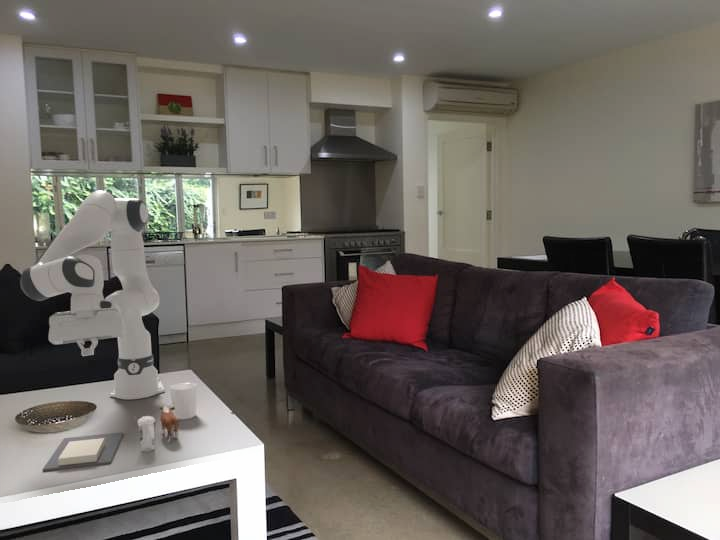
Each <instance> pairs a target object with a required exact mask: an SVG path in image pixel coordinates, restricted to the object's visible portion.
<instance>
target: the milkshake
mask: <svg viewBox="0 0 720 540" xmlns="http://www.w3.org/2000/svg"><path fill="white" fill-rule="evenodd" d="M134 419H135V421H136V422H137V428H138V433H139V441H140V447H141V451H142V452H146V453H148V452H152V451H153V450H155V430H156V429H155V428H156V419H155V417H154V416H150V415H143V416H142V417H140V418H139V419H137V418H136V417H134Z"/></svg>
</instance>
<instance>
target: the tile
mask: <svg viewBox="0 0 720 540" xmlns="http://www.w3.org/2000/svg"><path fill="white" fill-rule="evenodd" d="M104 445H105V438H99V439H90V440H80V441H71V442H69V443H68V444H67V446H66V447H65V449H64V450H63V452H62V453H61V455H60V457H59V458H58V465H60V466H63V465H72V464H81V463H89V462H96V461H97V459H98V457H99V455H100V453H101V451H102V449H103V447H104Z"/></svg>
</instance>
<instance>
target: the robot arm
mask: <svg viewBox="0 0 720 540" xmlns="http://www.w3.org/2000/svg"><path fill="white" fill-rule="evenodd" d="M148 219H149V211H148V207H147V204H146V203H145V202H144V200H142V199H141V198H136V197H131V198H127V197H126V198H122V197H121V198H120V197H118V198H116V197H114V196H113V195H112V194H111V193H109V192H108V191H105V190H95V191H93V192H90V193H89V194H88V195H87V196H86V197H85V199H83V200H82V201H81V203H80V204H79V206H78V208H77V210H76V211H75V213H74V214H73V216H72V217H71V218H70V219H69V221H68V222H67V223H66V224H65V226H64V227H63V228H62V229H61V230H60V231H59V232H58V233H57V235H55V237H54V238H52V240H51V241H50V243H49V244H48V245H47V247H45V249H44V251H43V252H42V253H41V255H40V256H39V257H38V258H37V260H36V261H35V262H34V263H33V264H32V265H30V266H28V267H26V268H25V269H24V270H23V271H22V272H21V277H20V280H19V281H20V288H21V291H22V292H23V294H25V296H27V297H28V298H30V299H31V300H34V301H35V302H36V301H37V302H42V301H44V300H48V299H50V298H51V297H55V296H58V295H62V294H66V293H70V294H71V297H70V310H67V311H61V312H60V311H59V312H54V314H52V315H50V316H49V318H48V325H49V329H48V337H47V338H48V341H49V342H50V343H51V344H52V345H64V344H71V343H73V344H74V343H77V345H78V347H79V348H80V350H81V351H80V352H81V353H80V355H81V356H82V357H87V356H94V354H95V349H96V347H97V346H98V343H99V340H105V339H115V338H117V347H118V357H117V367H118V369H117V371H115V373H114V375H113V377H114V378H113V379H114V383H113V384H114V390H113V391H112V392H110V393H109V397H110V398H117V399H119V400H140V399H145V398H146V399H147V398H149V397H150V398H151V397H152V396H155V395H157V394H161V393H165V392H166V391H165V390H166V389H165V387H164V385H163V383H162V382H161V380H160V378H159V374H158V369H157V368H156V367H155V366H154V356H153V353H152V341H151V338H152V337H151V333H150V331H149V330H147V329H146V327H145V325H144V322H143V319H142V318H143V317H144V316H146V315H147V316H148V315H149V314H151V313H152V312H153V311H155V310H156V309H157V308H158V307H159V306H160V301H161V298H160V294H159V292H158V291H157V290H156V289H155V287H154V286H153V284H152V283H151V280H150V277H149V273H148V271H147V263H146V255H145V245H144V239H143V233H142V229H143V228H144V227H145V226H146V225H147V222H148ZM109 233H110V254H111V263H112V265H111V266H112V272H113V274H114V275H115V276H116V277H117V278H118V280H119V282H120V283H121V286H122V289H120V290H115V291H114V292H113V293H111V294H109V295H107V296H106V297H104V293H103V290H104V281H105V280H104V271H103V265H102V262H101V260H100V259H99V257H97V256H94V255H92V254H86V253H85V254H78V255H77V256H73V254H74V253H76V252H78V251H81V250H83V249H86V248H88V247H91V246H94V245H95V244H98V243H100V242H101V241H102V240H103V239H104V238H105V237H106V236H107V235H108V234H109ZM71 255H72V256H71ZM88 341H90V342H91V345H90V347H86V348H85V347H84V345H85V342H88Z"/></svg>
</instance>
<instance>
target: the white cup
mask: <svg viewBox="0 0 720 540" xmlns="http://www.w3.org/2000/svg"><path fill="white" fill-rule="evenodd" d="M170 392H171V393H170V395H171V402H172V403H171V406H172V407H174V408H175V409H174V410H173V414H174V415H175V417H176V418H177V419H178V421H180V420H182V421H183V420H190V419H192V418H195V417H196V414H197V384H196V383H194V382H181V383H180V382H179V383H175V384H173V385H171V386H170Z"/></svg>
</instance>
